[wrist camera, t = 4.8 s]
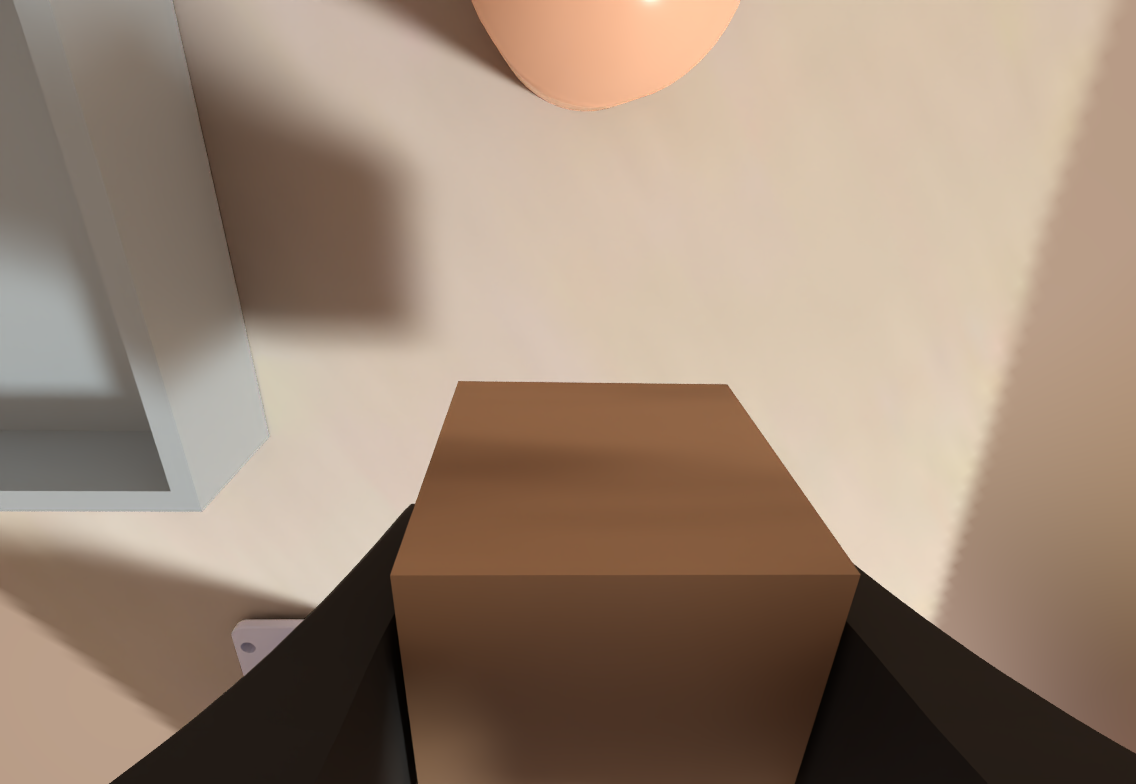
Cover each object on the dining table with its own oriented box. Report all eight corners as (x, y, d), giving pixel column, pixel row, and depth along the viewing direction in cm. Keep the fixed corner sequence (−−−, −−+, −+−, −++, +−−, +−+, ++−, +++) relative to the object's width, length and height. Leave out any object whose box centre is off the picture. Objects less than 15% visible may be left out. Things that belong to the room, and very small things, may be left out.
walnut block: (694, 587, 12) (776, 841, 8) (470, 589, 12) (426, 849, 7) (726, 385, 10) (861, 574, 6) (457, 381, 10) (389, 576, 5)
